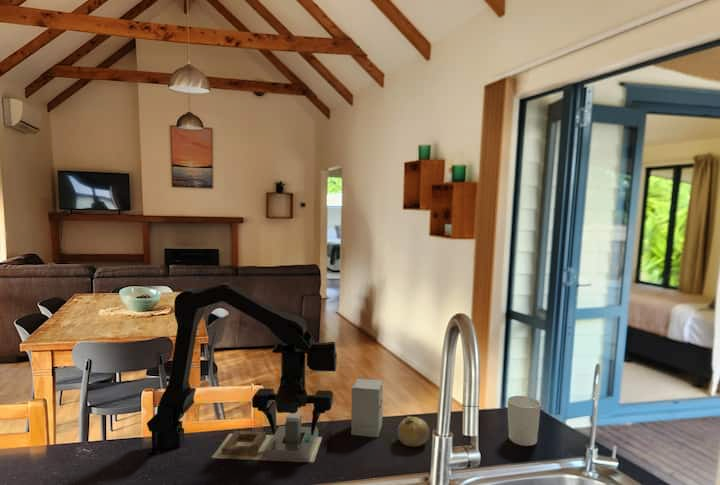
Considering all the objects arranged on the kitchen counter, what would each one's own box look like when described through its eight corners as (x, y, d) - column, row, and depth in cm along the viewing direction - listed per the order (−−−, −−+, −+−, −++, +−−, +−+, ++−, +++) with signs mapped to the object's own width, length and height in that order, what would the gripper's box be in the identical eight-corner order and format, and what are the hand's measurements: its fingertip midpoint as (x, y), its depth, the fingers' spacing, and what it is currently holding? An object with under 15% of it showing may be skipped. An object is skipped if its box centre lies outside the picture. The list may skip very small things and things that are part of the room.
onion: (400, 434, 123) (401, 407, 122) (431, 438, 121) (431, 411, 120) (394, 448, 115) (394, 420, 115) (427, 453, 113) (427, 424, 112)
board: (211, 461, 108) (211, 457, 108) (229, 437, 120) (229, 433, 120) (313, 466, 107) (313, 462, 106) (322, 441, 118) (322, 437, 118)
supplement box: (378, 438, 120) (378, 389, 120) (350, 435, 122) (350, 387, 121) (383, 425, 128) (383, 379, 127) (356, 422, 129) (356, 377, 128)
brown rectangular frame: (222, 454, 110) (221, 448, 110) (235, 436, 119) (235, 430, 118) (255, 456, 109) (255, 449, 109) (266, 437, 118) (266, 432, 118)
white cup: (505, 443, 118) (506, 404, 117) (507, 430, 125) (508, 393, 124) (538, 449, 115) (540, 410, 114) (539, 435, 122) (540, 398, 121)
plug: (285, 452, 111) (285, 419, 110) (289, 443, 115) (289, 411, 115) (297, 452, 111) (297, 419, 110) (301, 443, 115) (301, 411, 115)
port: (266, 460, 107) (266, 447, 107) (279, 435, 119) (279, 424, 119) (309, 461, 107) (309, 449, 106) (318, 437, 119) (318, 425, 118)
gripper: (244, 380, 104) (244, 448, 105) (327, 383, 103) (327, 452, 104) (258, 364, 116) (259, 426, 116) (333, 367, 114) (333, 429, 115)
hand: (293, 433), depth 113 cm, fingers open, 9 cm apart
